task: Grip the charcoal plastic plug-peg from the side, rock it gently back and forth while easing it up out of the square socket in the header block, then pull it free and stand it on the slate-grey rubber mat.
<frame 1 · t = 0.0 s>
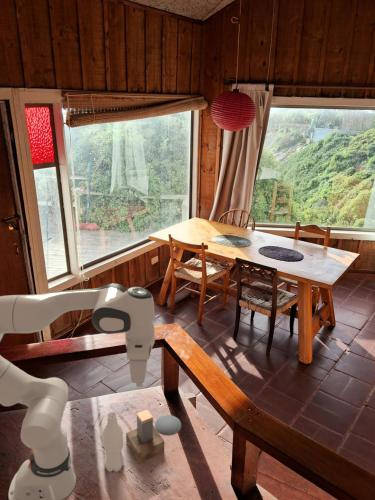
hand: (140, 374, 129), 48 cm above the table, tool pointing down, fingers open, 8 cm apart
plug peg: (145, 446, 160), point 1 cm above the table, touching header block
header block: (145, 448, 160), on the table
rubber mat: (168, 426, 171), on the table
water bottle: (114, 467, 153), on the table
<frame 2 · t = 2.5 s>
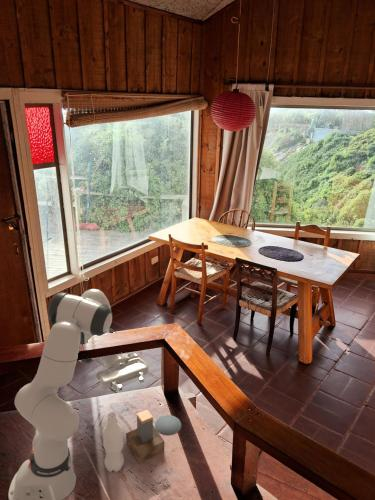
hand: (131, 385, 161), 22 cm above the table, tool horizontal, fingers open, 8 cm apart
nothing on the table moved.
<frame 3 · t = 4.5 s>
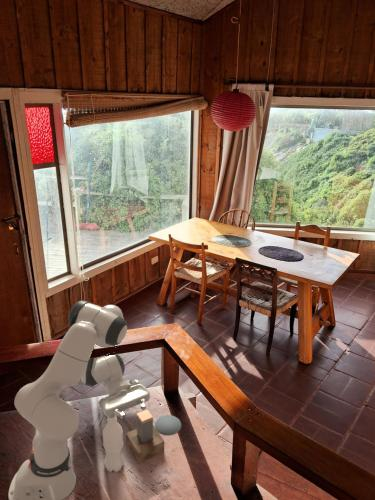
hand: (133, 412, 164), 10 cm above the table, tool horizontal, fingers open, 8 cm apart
nothing on the table moved.
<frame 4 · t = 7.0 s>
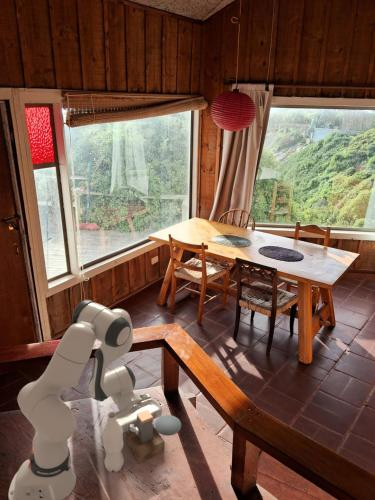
hand: (145, 429, 156), 11 cm above the table, tool horizontal, fingers closed on plug peg, 4 cm apart
plug peg: (145, 446, 160), point 1 cm above the table, touching gripper, header block
everything else where it was.
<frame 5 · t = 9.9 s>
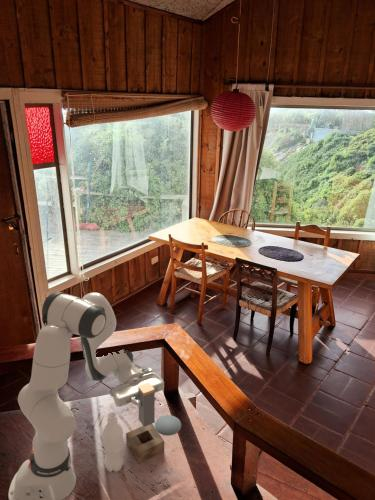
hand: (147, 402, 152), 23 cm above the table, tool horizontal, fingers closed on plug peg, 4 cm apart
plug peg: (146, 420, 156), point 13 cm above the table, touching gripper
everything else where it was.
when the fingers open (12 cm above the table, at t = 13.2 s): plug peg drops 1 cm, resting on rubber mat.
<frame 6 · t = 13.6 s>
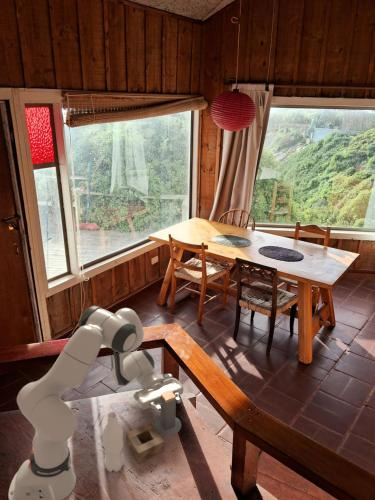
hand: (169, 405, 166), 12 cm above the table, tool horizontal, fingers open, 8 cm apart
plug peg: (167, 425, 171), point 1 cm above the table, touching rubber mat
everything else where it was.
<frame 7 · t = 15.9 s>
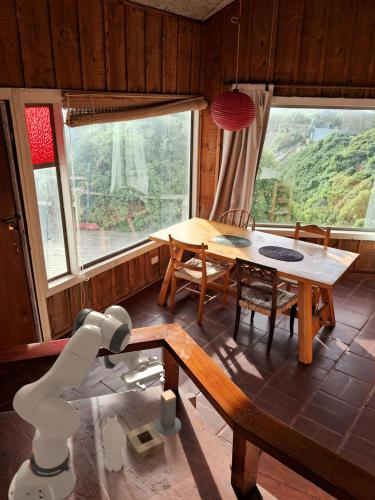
hand: (153, 385, 176), 13 cm above the table, tool horizontal, fingers open, 8 cm apart
nothing on the table moved.
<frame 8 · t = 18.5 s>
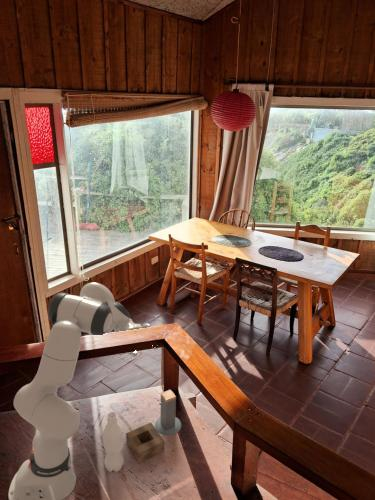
hand: (145, 351, 166), 32 cm above the table, tool horizontal, fingers open, 8 cm apart
nothing on the table moved.
at the end: plug peg inside the target area on the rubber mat (0.1 cm from its centre), point 1.0 cm above the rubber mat's base; plug peg tilted 0°; the gripper is holding nothing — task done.
